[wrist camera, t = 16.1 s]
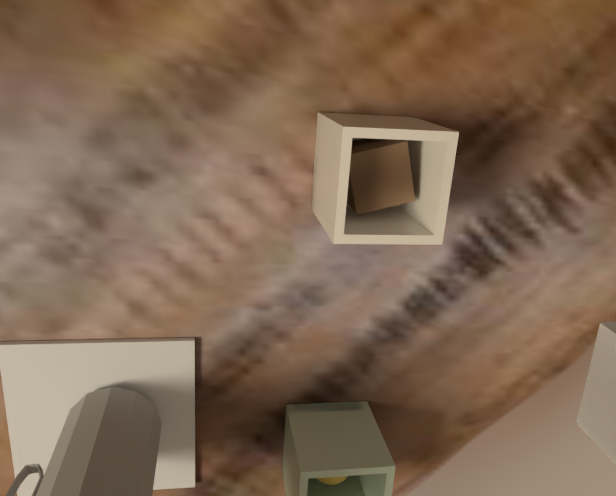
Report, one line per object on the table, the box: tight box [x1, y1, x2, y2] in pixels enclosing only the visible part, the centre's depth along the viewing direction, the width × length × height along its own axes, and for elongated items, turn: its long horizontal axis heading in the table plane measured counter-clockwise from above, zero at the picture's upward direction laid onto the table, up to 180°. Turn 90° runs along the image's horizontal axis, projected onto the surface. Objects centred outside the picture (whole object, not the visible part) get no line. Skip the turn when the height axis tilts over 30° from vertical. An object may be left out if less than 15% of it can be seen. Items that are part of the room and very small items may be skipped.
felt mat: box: [0, 338, 195, 496], centre depth 44 cm, size 14×14×1 cm
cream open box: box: [311, 112, 459, 245], centre depth 37 cm, size 7×7×8 cm
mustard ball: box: [316, 476, 348, 485], centre depth 45 cm, size 4×4×4 cm
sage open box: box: [282, 401, 396, 496], centre depth 44 cm, size 7×7×8 cm
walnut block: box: [347, 138, 415, 215], centre depth 37 cm, size 4×4×4 cm
